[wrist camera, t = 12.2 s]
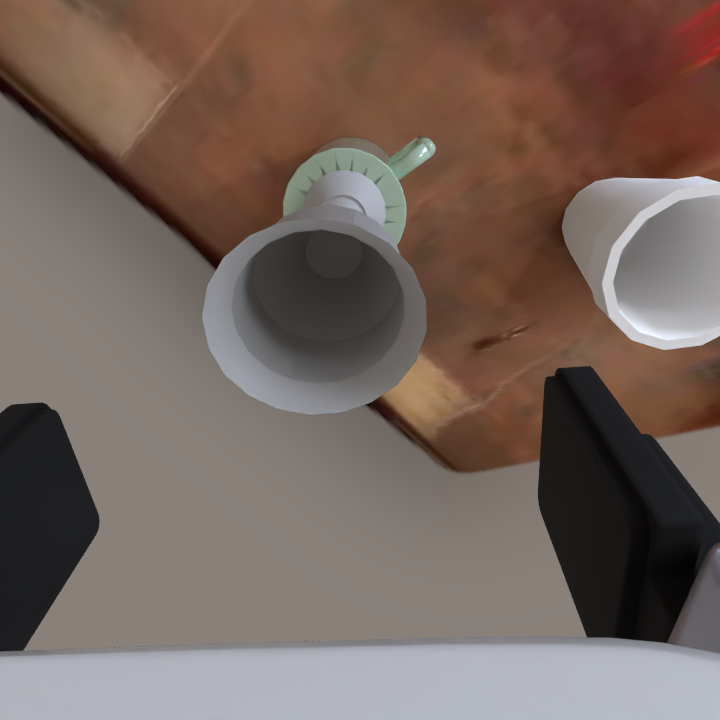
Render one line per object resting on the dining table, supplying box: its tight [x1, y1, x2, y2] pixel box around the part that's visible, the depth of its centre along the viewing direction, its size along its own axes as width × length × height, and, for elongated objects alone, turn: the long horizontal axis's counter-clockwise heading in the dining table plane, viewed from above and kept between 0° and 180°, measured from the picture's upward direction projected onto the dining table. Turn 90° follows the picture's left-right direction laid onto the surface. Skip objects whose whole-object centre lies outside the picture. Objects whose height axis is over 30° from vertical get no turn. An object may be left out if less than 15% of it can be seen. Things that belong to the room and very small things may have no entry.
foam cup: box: [562, 176, 720, 350], centre depth 36 cm, size 10×9×13 cm
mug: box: [283, 135, 436, 246], centre depth 38 cm, size 10×8×8 cm
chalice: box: [202, 170, 427, 415], centre depth 26 cm, size 7×7×18 cm
